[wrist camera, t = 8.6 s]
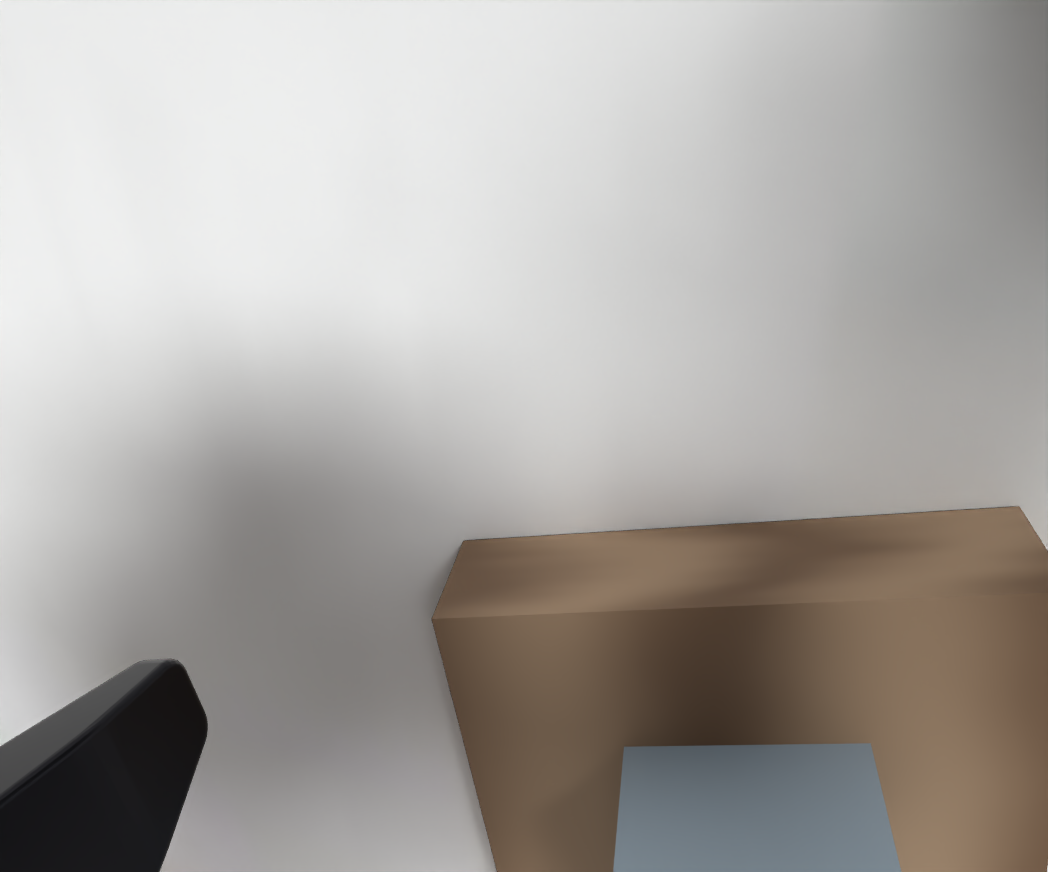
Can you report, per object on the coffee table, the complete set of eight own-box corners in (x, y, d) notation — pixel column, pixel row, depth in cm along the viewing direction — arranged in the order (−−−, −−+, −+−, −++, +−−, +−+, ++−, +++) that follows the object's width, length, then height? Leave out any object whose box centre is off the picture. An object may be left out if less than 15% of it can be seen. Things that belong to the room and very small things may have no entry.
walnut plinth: (1019, 506, 19) (1073, 591, 16) (994, 904, 24) (1033, 1019, 21) (463, 540, 22) (431, 619, 19) (545, 892, 26) (528, 994, 24)
